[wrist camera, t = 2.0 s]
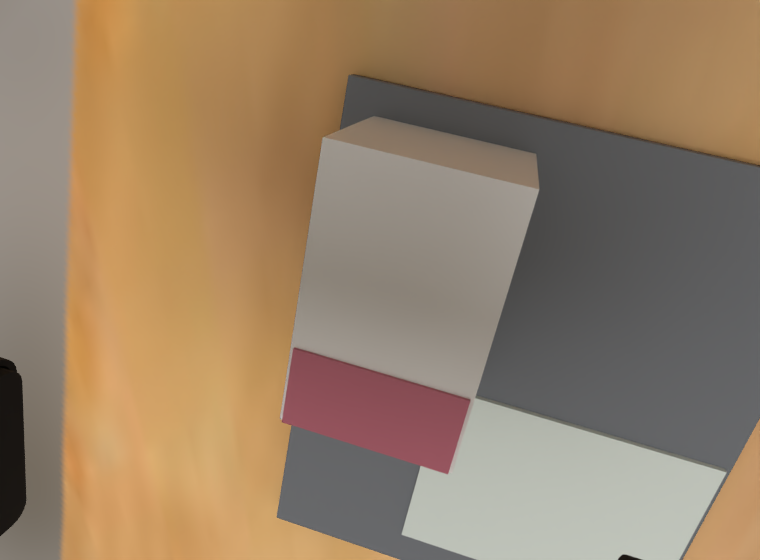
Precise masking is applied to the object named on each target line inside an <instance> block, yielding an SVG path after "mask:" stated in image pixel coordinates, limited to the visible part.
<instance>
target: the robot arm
mask: <svg viewBox="0 0 760 560" xmlns="http://www.w3.org/2000/svg"><path fill="white" fill-rule="evenodd" d="M25 504H26V479H25V450H24V422H23V394H22V379H21V376H20V375H19V373H17V370H16V366H15V365H14V363H13V362H12V361H9V360H7V359H4V358H1V357H0V536H1V535H2V534H3V533H4V532H5V531H7V530H8V529H9V528H10V527H11V526H12V525H13V524H14V523H15V522H16V521H17V520H18V518H19V517H20V515H21V514H22V512H23V510H24V507H25ZM618 560H642V559H639V558H636V557H632V556H629V555H625V554H623V555H621V556H620V557H619V558H618Z"/></svg>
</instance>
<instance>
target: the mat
mask: <svg viewBox="0 0 760 560" xmlns="http://www.w3.org/2000/svg"><path fill="white" fill-rule="evenodd" d="M373 116H377V117H381V118H385V119H389V120H394V121H398V122H402V123H407V124H411V125H415V126H419V127H424V128H428V129H432V130H437V131H441V132H445V133H449V134H454V135H458V136H462V137H466V138H471V139H475V140H479V141H484V142H488V143H492V144H496V145H501V146H505V147H509V148H513V149H518V150H522V151H526V152H531V153H535V154H536V157H537V168H538V179H539V192H538V196H537V199H536V202H535V205H534V209H533V212H532V215H531V218H530V222H529V225H528V228H527V231H526V235H525V238H524V241H523V244H522V248H521V251H520V254H519V257H518V261H517V264H516V267H515V270H514V274H513V277H512V280H511V283H510V287H509V290H508V293H507V296H506V300H505V303H504V306H503V309H502V313H501V316H500V319H499V322H498V326H497V329H496V332H495V335H494V339H493V342H492V345H491V348H490V352H489V355H488V358H487V361H486V365H485V368H484V371H483V374H482V378H481V381H480V384H479V387H478V391H477V394H476V397H475V400H474V403H473V407H472V410H471V413H470V416H469V420H468V423H467V426H466V429H465V433H464V436H463V439H462V442H461V446H460V449H459V452H458V455H457V459H456V462H455V465H454V468H453V472H452V473H450V472H449V473H448V474H445V473H442V472H438V471H435V470H432V469H429V468H426V467H423V466H419V465H416V464H413V463H410V462H407V461H404V460H400V459H397V458H394V457H391V456H388V455H385V454H381V453H378V452H375V451H372V450H369V449H366V448H362V447H359V446H356V445H353V444H350V443H347V442H343V441H340V440H337V439H334V438H331V437H328V436H324V435H321V434H318V433H315V432H312V431H309V430H305V429H302V428H299V427H296V426H293V425H292V426H291V433H290V439H289V445H288V451H287V457H286V463H285V469H284V476H283V482H282V488H281V494H280V500H279V506H278V512H277V518H280V519H282V520H285V521H288V522H291V523H294V524H297V525H300V526H303V527H306V528H309V529H312V530H315V531H318V532H321V533H324V534H327V535H330V536H332V537H335V538H338V539H341V540H344V541H347V542H350V543H353V544H356V545H359V546H362V547H365V548H368V549H371V550H374V551H377V552H379V553H382V554H385V555H388V556H391V557H394V558H397V559H400V560H618V558H619V557H620V556H621V555H623V554H625V555H629V556H632V557H636V558H639V559H642V560H682V559H683V557H684V556H685V554H686V552H687V550H688V548H689V546H690V545H691V543H692V541H693V539H694V537H695V536H696V534H697V532H698V530H699V528H700V526H701V525H702V523H703V521H704V519H705V517H706V515H707V514H708V512H709V510H710V508H711V506H712V504H713V503H714V501H715V499H716V497H717V495H718V494H719V492H720V490H721V488H722V486H723V484H724V483H725V481H726V479H727V477H728V475H729V473H730V472H731V470H732V468H733V466H734V464H735V463H736V461H737V459H738V457H739V455H740V453H741V452H742V450H743V448H744V446H745V444H746V442H747V441H748V439H749V437H750V435H751V433H752V431H753V430H754V428H755V426H756V424H757V422H758V421H759V419H760V166H759V165H755V164H750V163H746V162H741V161H737V160H732V159H728V158H723V157H719V156H715V155H710V154H706V153H701V152H697V151H692V150H688V149H683V148H679V147H675V146H670V145H666V144H661V143H657V142H652V141H648V140H643V139H639V138H634V137H630V136H626V135H621V134H617V133H612V132H608V131H603V130H599V129H594V128H590V127H586V126H581V125H577V124H572V123H568V122H563V121H559V120H554V119H550V118H546V117H541V116H537V115H532V114H528V113H523V112H519V111H514V110H510V109H506V108H501V107H497V106H492V105H488V104H483V103H479V102H474V101H470V100H466V99H461V98H457V97H452V96H448V95H443V94H439V93H434V92H430V91H426V90H421V89H417V88H412V87H408V86H403V85H399V84H394V83H390V82H385V81H381V80H377V79H372V78H368V77H363V76H359V75H354V74H353V75H349V76H348V83H347V89H346V95H345V101H344V107H343V113H342V119H341V126H340V130H341V129H344V128H346V127H348V126H351V125H353V124H356V123H358V122H361V121H363V120H365V119H368V118H370V117H373Z"/></svg>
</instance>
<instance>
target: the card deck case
mask: <svg viewBox="0 0 760 560" xmlns="http://www.w3.org/2000/svg"><path fill="white" fill-rule="evenodd" d="M538 192H539V179H538V168H537V157H536V154H535V153H531V152H526V151H522V150H518V149H513V148H509V147H505V146H501V145H496V144H492V143H488V142H484V141H479V140H475V139H471V138H466V137H462V136H458V135H454V134H449V133H445V132H441V131H437V130H432V129H428V128H424V127H419V126H415V125H411V124H407V123H402V122H398V121H394V120H389V119H385V118H381V117H377V116H373V117H370V118H368V119H365V120H363V121H361V122H358V123H356V124H353V125H351V126H348V127H346V128H344V129H341V130H339V131H336V132H334V133H331V134H329V135H327V136H324V137H323V139H322V145H321V152H320V158H319V165H318V172H317V178H316V185H315V191H314V198H313V204H312V211H311V218H310V224H309V231H308V237H307V244H306V250H305V257H304V264H303V270H302V277H301V283H300V290H299V296H298V303H297V310H296V316H295V323H294V329H293V336H292V342H291V349H290V355H289V362H288V369H287V375H286V382H285V388H284V395H283V401H282V408H281V415H280V419H281V420H282V422H283V423H286V424H290V425H293V426H296V427H299V428H302V429H305V430H309V431H312V432H315V433H318V434H321V435H324V436H328V437H331V438H334V439H337V440H340V441H343V442H347V443H350V444H353V445H356V446H359V447H362V448H366V449H369V450H372V451H375V452H378V453H381V454H385V455H388V456H391V457H394V458H397V459H400V460H404V461H407V462H410V463H413V464H416V465H419V466H423V467H426V468H429V469H432V470H435V471H438V472H442V473H445V474H448V473H449V472H450V473H452V472H453V468H454V465H455V462H456V459H457V455H458V452H459V449H460V446H461V442H462V439H463V436H464V433H465V429H466V426H467V423H468V420H469V416H470V413H471V410H472V407H473V403H474V400H475V397H476V394H477V391H478V387H479V384H480V381H481V378H482V374H483V371H484V368H485V365H486V361H487V358H488V355H489V352H490V348H491V345H492V342H493V339H494V335H495V332H496V329H497V326H498V322H499V319H500V316H501V313H502V309H503V306H504V303H505V300H506V296H507V293H508V290H509V287H510V283H511V280H512V277H513V274H514V270H515V267H516V264H517V261H518V257H519V254H520V251H521V248H522V244H523V241H524V238H525V235H526V231H527V228H528V225H529V222H530V218H531V215H532V212H533V209H534V205H535V202H536V199H537V196H538Z"/></svg>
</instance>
